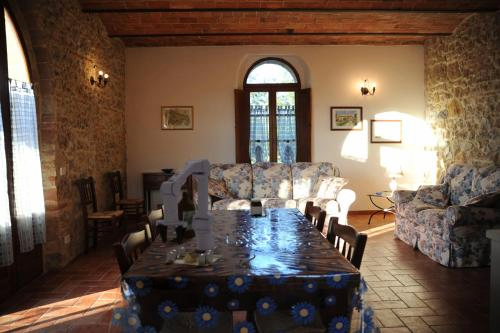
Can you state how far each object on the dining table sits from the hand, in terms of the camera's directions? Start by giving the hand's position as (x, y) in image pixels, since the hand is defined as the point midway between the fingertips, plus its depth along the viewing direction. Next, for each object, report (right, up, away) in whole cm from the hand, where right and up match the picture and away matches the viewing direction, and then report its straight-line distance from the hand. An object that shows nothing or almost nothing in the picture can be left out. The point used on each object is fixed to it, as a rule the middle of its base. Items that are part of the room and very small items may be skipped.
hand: (172, 243), depth 167 cm
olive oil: (-3, -7, +58) cm, 58 cm away
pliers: (+31, -9, +7) cm, 33 cm away
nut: (+7, -9, +6) cm, 12 cm away
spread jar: (+39, -3, +117) cm, 123 cm away
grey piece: (+7, -8, +6) cm, 13 cm away
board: (+8, -9, +9) cm, 15 cm away
